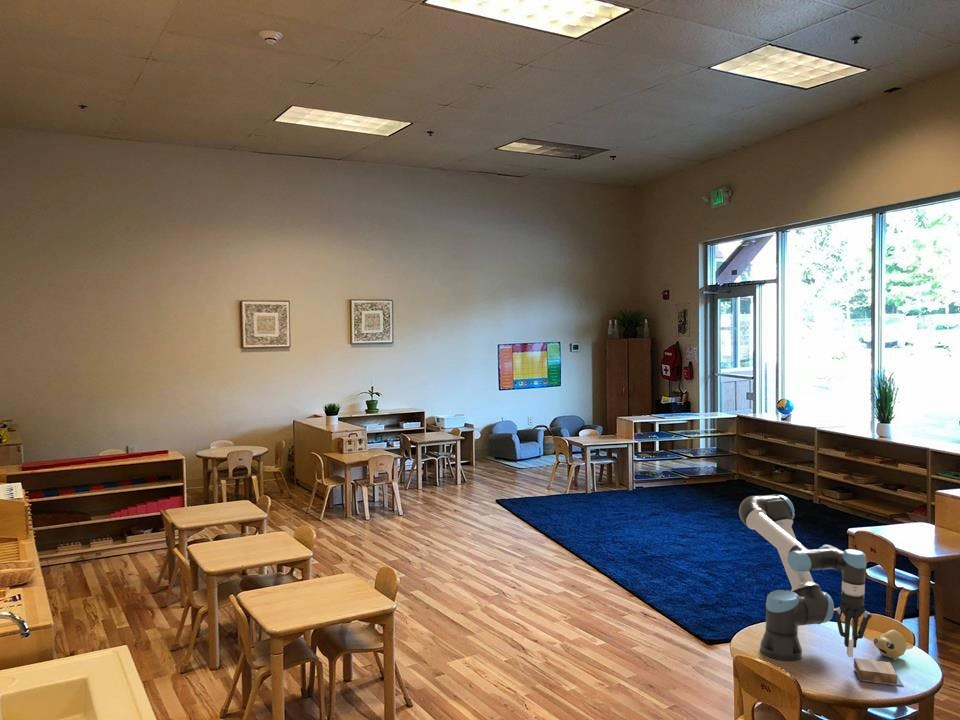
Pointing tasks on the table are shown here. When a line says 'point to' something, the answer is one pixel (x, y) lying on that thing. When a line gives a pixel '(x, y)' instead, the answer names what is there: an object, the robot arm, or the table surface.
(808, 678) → the table surface
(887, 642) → the beige rounded lump
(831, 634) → the table surface
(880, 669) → the brown flat block
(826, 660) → the table surface
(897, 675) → the mat
